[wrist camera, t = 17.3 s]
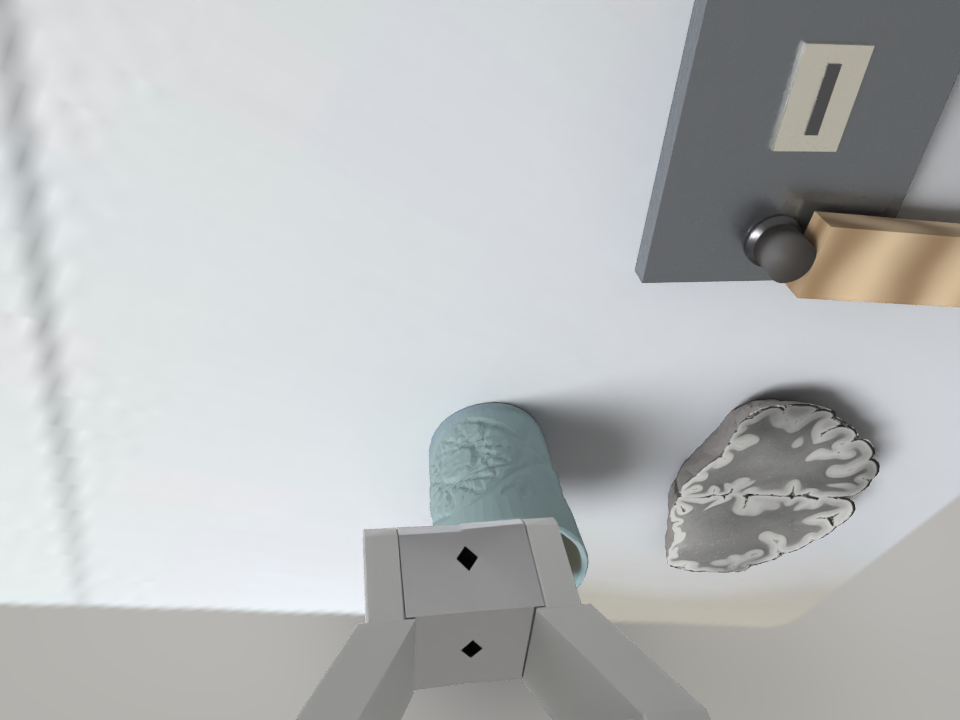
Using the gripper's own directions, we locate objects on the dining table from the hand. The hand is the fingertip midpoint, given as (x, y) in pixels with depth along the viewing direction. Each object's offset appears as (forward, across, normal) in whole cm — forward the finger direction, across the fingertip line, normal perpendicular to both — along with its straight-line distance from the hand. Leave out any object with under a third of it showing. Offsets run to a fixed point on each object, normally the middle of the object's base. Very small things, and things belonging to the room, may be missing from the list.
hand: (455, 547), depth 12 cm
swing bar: (+32, -32, +14) cm, 47 cm away
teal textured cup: (+34, -8, +31) cm, 47 cm away
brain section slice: (+35, -32, +36) cm, 59 cm away
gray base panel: (+34, -25, +2) cm, 42 cm away
